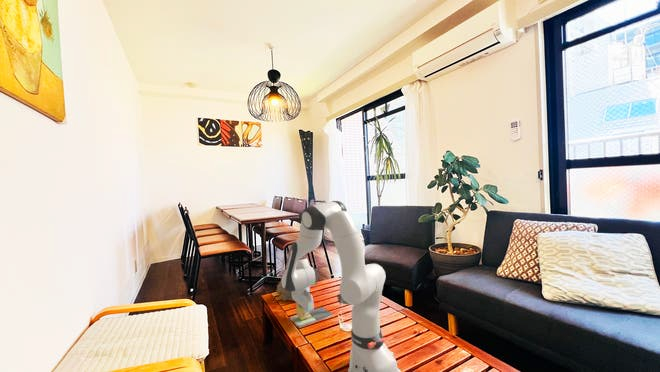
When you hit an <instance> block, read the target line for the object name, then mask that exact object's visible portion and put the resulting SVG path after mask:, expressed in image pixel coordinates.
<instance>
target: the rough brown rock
mask: <svg viewBox="0 0 660 372" xmlns="http://www.w3.org/2000/svg"><path fill="white" fill-rule="evenodd" d="M276 287H277V288H276V289H275V290H276V291H275V292H276V295H278V296H280V297H281V299H282V301H285V302H286V301H293V302H295V303H297V302H296V301H294V300H293V299H292V295H291V292H288V291H286V290H284V289H283V287H282V282H281V280H280V282H279V283H278V284H277V286H276Z"/></svg>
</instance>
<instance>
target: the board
mask: <svg viewBox="0 0 660 372" xmlns="http://www.w3.org/2000/svg"><path fill="white" fill-rule="evenodd" d="M331 317H334V314H333V313H332V312H330V311H329V310H328V309H326V308H325V307H323V306H320V307H317V308H314V309H313V310H311V311H309V317H308V318H305V319H302V320H301V319H299V318H298V317H297V314H296V315H293V316H291V317H289V320H290V321H291V322H292V323H294V325H295V326H296V327H298V329H300V328H304V327H307V326H309V325H312V324H314V323H318V322H320V321H323V320H326V319H329V318H331Z"/></svg>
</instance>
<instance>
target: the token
mask: <svg viewBox="0 0 660 372" xmlns="http://www.w3.org/2000/svg"><path fill="white" fill-rule="evenodd" d="M303 312H304V308H303V307H302V306H300V305H297V304H296V315H297V317H298V318H299V319H301V320H302V319H305V318H308V317H309V311H308V315H307V316H305V315H304V313H303Z"/></svg>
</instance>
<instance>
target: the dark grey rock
mask: <svg viewBox="0 0 660 372" xmlns="http://www.w3.org/2000/svg"><path fill="white" fill-rule="evenodd" d="M337 298H338V299H339V303H340V304H343V305H349V304H348V303H347V302H345V301H344V300H343V298H342V296H341V294H340V293H339V294H337Z"/></svg>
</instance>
